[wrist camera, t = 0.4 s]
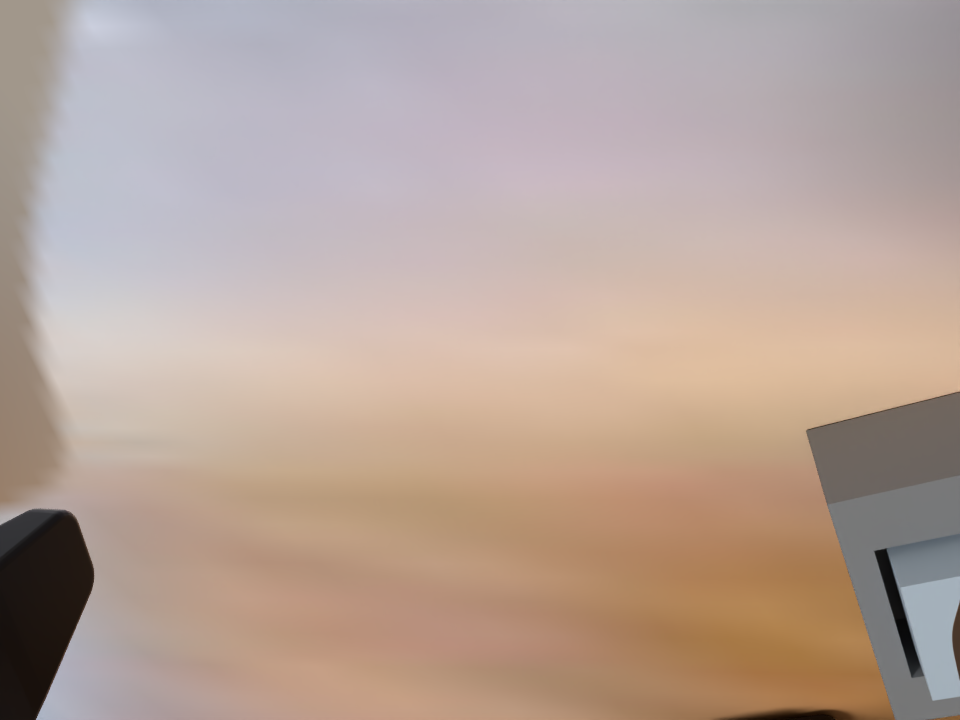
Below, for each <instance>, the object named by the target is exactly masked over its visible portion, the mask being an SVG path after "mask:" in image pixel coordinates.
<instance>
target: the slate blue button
mask: <svg viewBox="0 0 960 720" xmlns="http://www.w3.org/2000/svg"><path fill="white" fill-rule="evenodd" d="M886 551H887V554H888V558H889V561H890V565H891V568H892V572H893V575H894V579H895V582H896V585H897V589H898V592H899V596H900V599H901V603H902V606H903V610H904V613H905V617H906V620H907V624H908V627H909V631H910V634H911V638H912V641H913V645H914V647H915V650H916V653H917V656H918V659H919V662H920V665H921V668H922V671H923V674H924V677H925V680H926V683H927V685H928V688H929V691H930V694H931V697H932V700H933V701H934V700H941V699H947V698H954V697H960V680H959V675H958V671H957V666H956V662H955V657H954V652H953V645H952V630H953V624H954V620H955V616H956V613H957V609H958V606H959V602H960V534H955V535H950V536H945V537H940V538H935V539H930V540H925V541H920V542H915V543H910V544H905V545H900V546H896V547H891V548H886Z"/></svg>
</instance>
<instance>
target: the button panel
mask: <svg viewBox="0 0 960 720" xmlns="http://www.w3.org/2000/svg"><path fill="white" fill-rule="evenodd" d="M806 432H807V436H808V439H809V443H810V446H811V450H812V453H813V457H814V460H815V464H816V467H817V471H818V474H819V478H820V481H821V485H822V488H823V492H824V495H825V499H826V502H827V506H828V509H829V512H830V515H831V518H832V521H833V524H834V528H835V531H836V534H837V537H838V540H839V543H840V547H841V550H842V553H843V556H844V559H845V562H846V565H847V569H848V572H849V575H850V578H851V581H852V584H853V588H854V591H855V594H856V597H857V600H858V603H859V606H860V610H861V613H862V616H863V619H864V622H865V625H866V629H867V632H868V635H869V638H870V641H871V644H872V648H873V651H874V654H875V657H876V660H877V663H878V666H879V670H880V673H881V676H882V679H883V682H884V685H885V689H886V692H887V695H888V698H889V701H890V704H891V707H892V711H893V714H894V717H895V720H928V719H935V718H942V717H949V716H956V715H960V697H954V698H947V699H941V700H934V701H933V700H932V697H931V694H930V691H929V688H928V685H927V683H926V680H925V677H924V674H923V671H922V668H921V665H920V662H919V659H918V656H917V653H916V650H915V647H914V645H913V641H912V638H911V634H910V631H909V627H908V624H907V620H906V617H905V613H904V610H903V606H902V603H901V599H900V596H899V592H898V589H897V585H896V582H895V579H894V575H893V572H892V568H891V565H890V561H889V558H888V554H887V551H886V548H891V547H896V546H900V545H905V544H910V543H915V542H920V541H925V540H930V539H935V538H940V537H945V536H950V535H955V534H960V392H959V393H955V394H951V395H947V396H943V397H939V398H935V399H931V400H927V401H923V402H919V403H915V404H911V405H907V406H903V407H899V408H895V409H891V410H887V411H883V412H879V413H874V414H870V415H866V416H862V417H858V418H854V419H850V420H846V421H842V422H838V423H834V424H830V425H826V426H822V427H818V428H814V429H810V430H806Z"/></svg>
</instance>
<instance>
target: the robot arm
mask: <svg viewBox="0 0 960 720" xmlns="http://www.w3.org/2000/svg"><path fill="white" fill-rule="evenodd" d="M93 583H94V568H93V564H92V561H91V558H90V555H89V552H88V549H87V547H86V544H85V541H84V538H83V535H82V532H81V529H80V526H79V523H78V521H77V519H76V517H75V516H74V515H73V514H72V513H71V512H69V511H66V510H58V509H32V510H29V511H26V512H25V513H23V514H21V515H19V516H17V517H15V518H13V519H11V520H9V521H7V522H6V523H4V524H2V525H0V720H36V718H37V716H38V714H39V712H40V709H41V707H42V705H43V703H44V701H45V699H46V697H47V694H48V692H49V690H50V687H51V685H52V683H53V680H54V678H55V675H56V673H57V671H58V668H59V666H60V664H61V661H62V659H63V657H64V654H65V652H66V650H67V647H68V645H69V643H70V640H71V638H72V636H73V633H74V631H75V629H76V626H77V624H78V622H79V619H80V617H81V615H82V612H83V610H84V608H85V605H86V603H87V601H88V598H89V596H90V594H91V591H92V587H93ZM952 645H953V652H954V657H955V662H956V666H957V671H958V675H959V680H960V602H959V606H958V609H957V613H956V616H955V620H954V624H953V630H952ZM789 720H835V719H834V718H832V717H831V716H826V715H816V716H809V717H803V718H796V719H789Z"/></svg>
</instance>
